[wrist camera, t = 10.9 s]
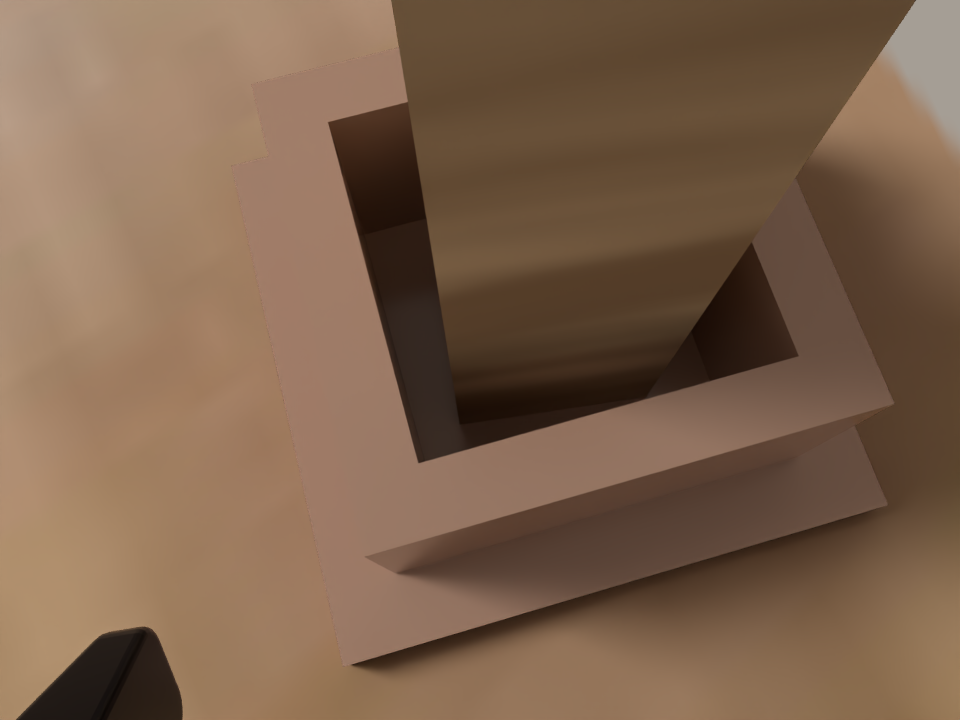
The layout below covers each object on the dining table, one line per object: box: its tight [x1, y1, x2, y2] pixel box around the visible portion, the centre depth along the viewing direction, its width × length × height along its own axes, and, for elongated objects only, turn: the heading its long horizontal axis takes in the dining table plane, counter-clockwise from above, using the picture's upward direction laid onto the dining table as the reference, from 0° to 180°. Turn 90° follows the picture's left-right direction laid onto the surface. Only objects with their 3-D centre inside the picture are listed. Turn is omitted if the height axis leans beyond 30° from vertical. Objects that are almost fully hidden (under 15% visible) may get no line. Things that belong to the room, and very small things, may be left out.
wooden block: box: [391, 0, 916, 425], centre depth 10 cm, size 4×4×14 cm
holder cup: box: [232, 47, 895, 667], centre depth 15 cm, size 10×10×5 cm
